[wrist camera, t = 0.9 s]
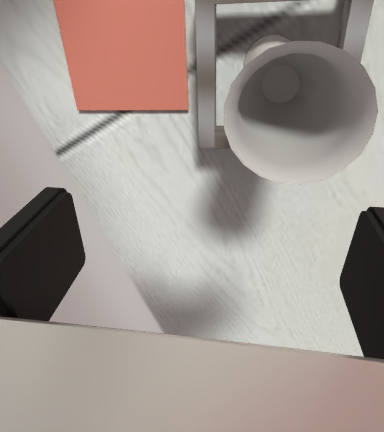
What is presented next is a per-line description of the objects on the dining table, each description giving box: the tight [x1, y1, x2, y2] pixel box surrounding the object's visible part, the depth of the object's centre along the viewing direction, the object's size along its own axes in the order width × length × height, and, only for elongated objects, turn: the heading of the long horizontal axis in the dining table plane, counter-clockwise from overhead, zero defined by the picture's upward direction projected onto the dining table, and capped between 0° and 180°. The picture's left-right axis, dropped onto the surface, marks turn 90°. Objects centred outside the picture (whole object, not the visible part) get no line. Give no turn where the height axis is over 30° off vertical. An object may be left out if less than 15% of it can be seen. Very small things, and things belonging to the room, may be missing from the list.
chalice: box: [224, 35, 378, 185], centre depth 23 cm, size 7×7×18 cm
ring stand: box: [195, 0, 374, 148], centre depth 29 cm, size 13×13×5 cm
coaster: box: [53, 0, 189, 110], centre depth 31 cm, size 12×12×1 cm
